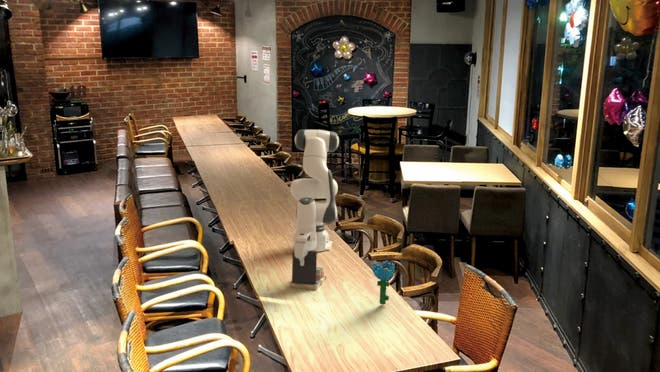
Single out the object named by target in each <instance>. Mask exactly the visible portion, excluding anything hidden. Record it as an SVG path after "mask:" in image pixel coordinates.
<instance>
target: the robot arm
mask: <svg viewBox="0 0 660 372" xmlns="http://www.w3.org/2000/svg"><path fill="white" fill-rule="evenodd" d="M294 143H295V147H296V148H297V149H298V150H299V151H304V152H303V157H302V158H303V159H302V169H303V170H304V172H305V174H306V175H307V176H308V177H310V178H307V177H306V178H304V177H303V178H297V179H294V180H293V181H292V182H291V184H290V186H289V187H290V188H289V191H290V194H291V195H292V197H293V198H295V200H297V201H298V203H297V206H296V210H295V211H296V215H295V217H296V220H297V224H296V231H295V234H294V235H293V243H294V245H293V248H294V249H293V250H294V253H295V257H296V258H299V260H300V265H301V266H304V265H305V261H304V257H305V256H306V255H307V254H308V251H310V250H313V251H317V253H318V252H324V251H330V250H331V248H332V246H333V241H332V240H330V239H329V238H330V236H329V235H330V233H328V231H327V230H326V224H327V225H331V224H333V223H334V222H335V221H336V220H337V218H338V208H337V203H336V195H337V193H338V190H339V189H338V188H339V186H338V183H337V181H336V180H335V179H334V178H333V173H332V171H331V170H330V169H328V166H327V158H328V153H334V152H335V151H337V149H338V147H339V145H340V137H339V136H338V134H337V132H336V131H332V130H330V131H329V130H325V129H299V130H298V131H297V132H296V134H295V136H294ZM316 199H326V201H325V202H319V201H315V200H316Z"/></svg>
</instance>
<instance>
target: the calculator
mask: <svg viewBox="0 0 660 372" xmlns="http://www.w3.org/2000/svg"><path fill="white" fill-rule="evenodd" d="M317 256H318V252H317V251H313V250H310V251H308V254H307V255H306V256H305V257H304V261H305V265H304V266H301V265H300V260H299V258H296V257H295V253H294V249H293V250H292V256H291V257H292V258H291V259H292V261H291V262H292V267H291V270H292V271H291V272H292V273H291V281H292V283H304V284H316V266H318V262H317V261H318V260H317V259H318V257H317Z"/></svg>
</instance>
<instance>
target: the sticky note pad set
mask: <svg viewBox="0 0 660 372" xmlns="http://www.w3.org/2000/svg"><path fill="white" fill-rule="evenodd" d="M324 269H325V268H324V266H323V265H316V284H304V283H292V280H291V281H290V282H289V287H290V288H296V289H303V290H310V291H311V290H312V291H317V290H318V289H319V288H320V287H321V286H322V285H323V284H324V283H325V282H326V280H327V279H328V277H327V275H325V271H324Z"/></svg>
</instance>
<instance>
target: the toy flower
mask: <svg viewBox="0 0 660 372" xmlns="http://www.w3.org/2000/svg"><path fill="white" fill-rule="evenodd" d="M395 269H396V266H395V263H392V262H389V261H388V260H385V261H384V262H381V264H377V263H376V262H374V263H373V266H372V273H373V276H375V278H377V280H378V281H376V282H377V284H376V285H377V287H379V304H380V305H381V306H383V305H386V301H389V299H390V297H389V295H387V288H388V287H390V282H389V281H388V280H390V279H391V278H392V276H394V273H395V271H396V270H395Z"/></svg>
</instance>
